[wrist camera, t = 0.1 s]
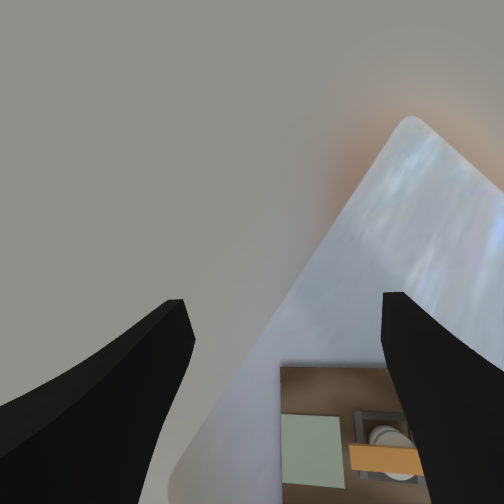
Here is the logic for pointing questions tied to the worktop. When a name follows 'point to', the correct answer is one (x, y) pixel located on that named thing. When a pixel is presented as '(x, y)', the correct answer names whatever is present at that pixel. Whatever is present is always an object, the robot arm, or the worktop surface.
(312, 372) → the board
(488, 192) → the worktop surface
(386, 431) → the plug
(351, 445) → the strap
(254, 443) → the worktop surface
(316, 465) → the sage mat
